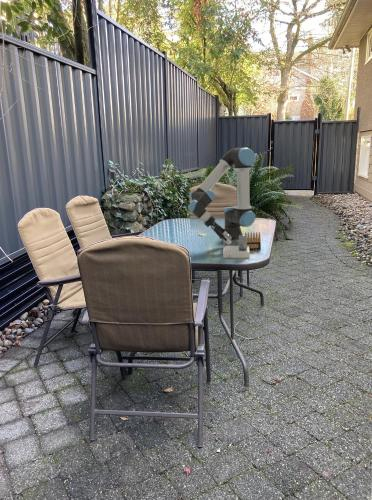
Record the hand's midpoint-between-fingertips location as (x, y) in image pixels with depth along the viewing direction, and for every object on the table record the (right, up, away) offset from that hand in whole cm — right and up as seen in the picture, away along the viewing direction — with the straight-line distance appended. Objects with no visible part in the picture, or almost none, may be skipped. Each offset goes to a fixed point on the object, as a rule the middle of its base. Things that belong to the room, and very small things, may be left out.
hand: (230, 241), depth 256 cm
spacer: (-2, -5, +1) cm, 5 cm away
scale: (+2, -9, -15) cm, 17 cm away
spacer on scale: (+5, -6, -20) cm, 21 cm away
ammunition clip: (+14, -6, -5) cm, 16 cm away
